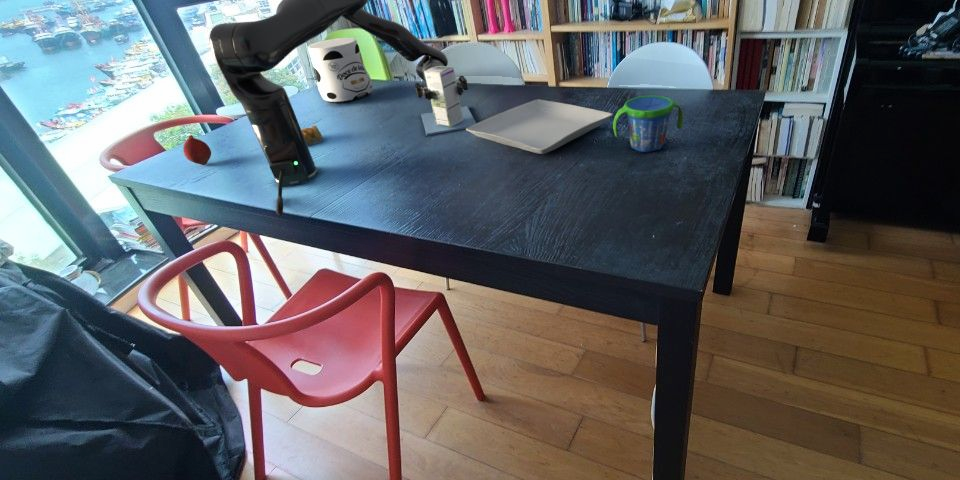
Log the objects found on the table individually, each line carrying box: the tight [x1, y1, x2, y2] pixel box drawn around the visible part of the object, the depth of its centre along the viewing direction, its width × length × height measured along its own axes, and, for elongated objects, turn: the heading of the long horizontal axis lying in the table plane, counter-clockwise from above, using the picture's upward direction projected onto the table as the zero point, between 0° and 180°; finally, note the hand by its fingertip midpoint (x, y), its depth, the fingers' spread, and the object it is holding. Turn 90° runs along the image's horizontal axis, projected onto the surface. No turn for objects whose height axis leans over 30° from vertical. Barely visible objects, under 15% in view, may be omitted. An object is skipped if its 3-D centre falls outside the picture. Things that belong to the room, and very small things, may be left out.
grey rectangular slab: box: [420, 105, 478, 137], centre depth 137 cm, size 18×14×1 cm
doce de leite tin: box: [307, 37, 374, 105], centre depth 159 cm, size 17×17×18 cm
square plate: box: [465, 98, 614, 155], centre depth 122 cm, size 27×27×4 cm
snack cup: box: [612, 94, 684, 153], centre depth 108 cm, size 16×10×10 cm
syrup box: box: [424, 66, 463, 127], centre depth 129 cm, size 6×6×14 cm
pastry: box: [301, 125, 324, 146], centre depth 132 cm, size 9×7×4 cm
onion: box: [182, 134, 212, 166], centre depth 124 cm, size 6×6×8 cm
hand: (444, 93), depth 126 cm, fingers closed on syrup box, 8 cm apart
